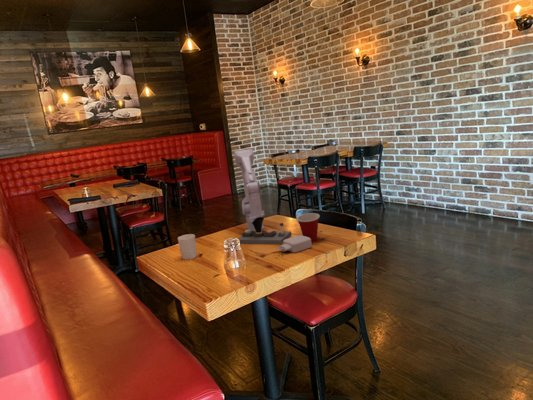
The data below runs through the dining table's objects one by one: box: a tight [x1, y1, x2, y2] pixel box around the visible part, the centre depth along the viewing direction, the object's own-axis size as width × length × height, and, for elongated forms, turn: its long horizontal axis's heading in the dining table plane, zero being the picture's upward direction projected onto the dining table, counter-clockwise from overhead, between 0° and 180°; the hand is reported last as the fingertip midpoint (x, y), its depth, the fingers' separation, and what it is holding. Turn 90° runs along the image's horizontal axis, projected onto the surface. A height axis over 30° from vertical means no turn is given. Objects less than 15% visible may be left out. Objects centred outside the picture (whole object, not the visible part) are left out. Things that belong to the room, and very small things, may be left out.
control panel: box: [237, 230, 292, 245], centre depth 199 cm, size 14×24×4 cm, turn 67°
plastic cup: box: [296, 212, 320, 243], centre depth 187 cm, size 11×11×12 cm
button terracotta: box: [265, 228, 274, 234], centre depth 197 cm, size 3×3×2 cm
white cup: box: [177, 233, 198, 261], centre depth 186 cm, size 8×8×10 cm
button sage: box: [244, 228, 251, 234], centre depth 202 cm, size 3×3×2 cm
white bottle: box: [276, 234, 313, 254], centre depth 179 cm, size 5×9×15 cm
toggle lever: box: [279, 222, 284, 233], centre depth 196 cm, size 2×2×5 cm
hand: (258, 232), depth 200 cm, fingers closed, pressing on button cream
